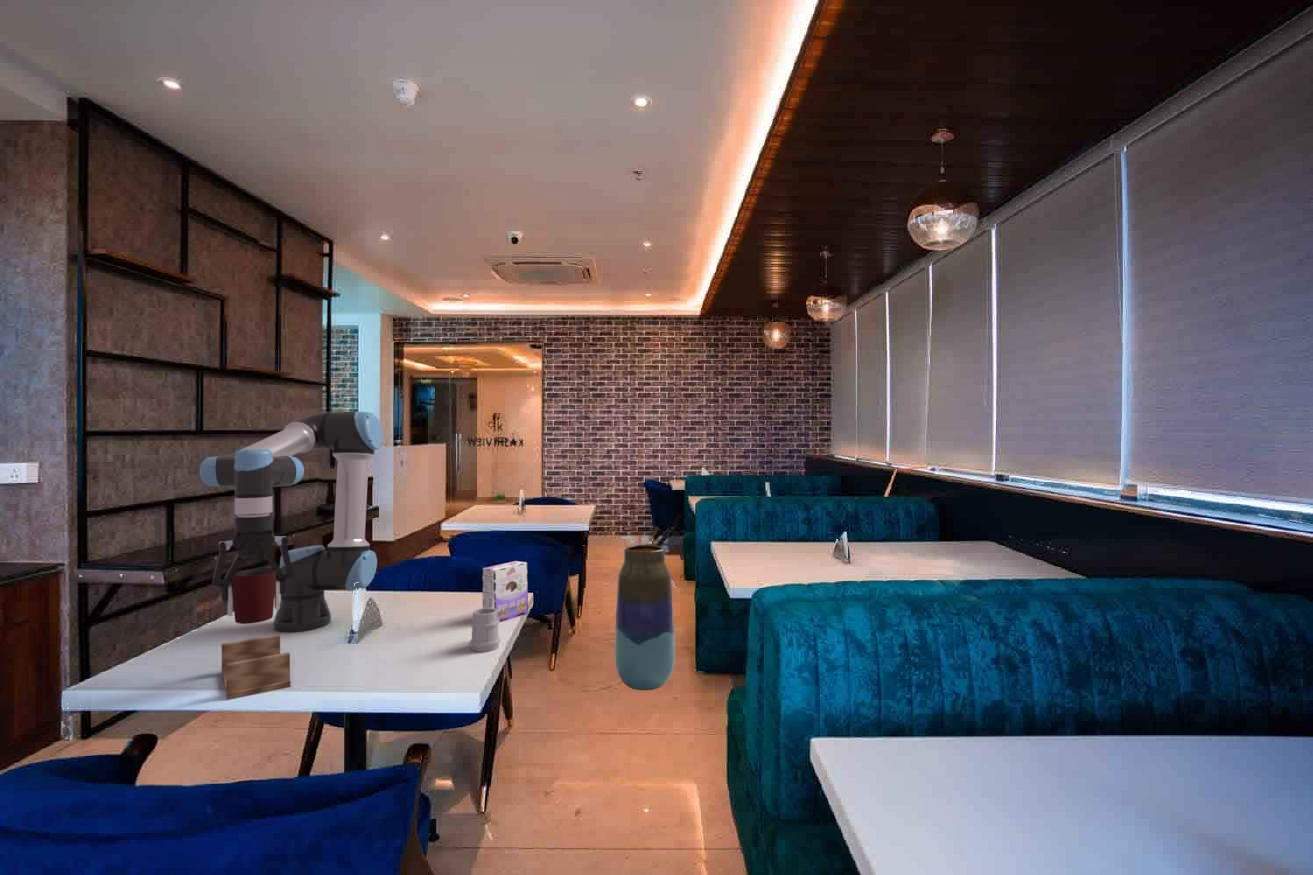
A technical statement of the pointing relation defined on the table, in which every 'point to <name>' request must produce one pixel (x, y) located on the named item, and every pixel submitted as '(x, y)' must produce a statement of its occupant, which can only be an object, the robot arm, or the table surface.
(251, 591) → the mug
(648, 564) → the vase
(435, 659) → the table surface
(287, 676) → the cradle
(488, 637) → the mug
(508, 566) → the candy box
